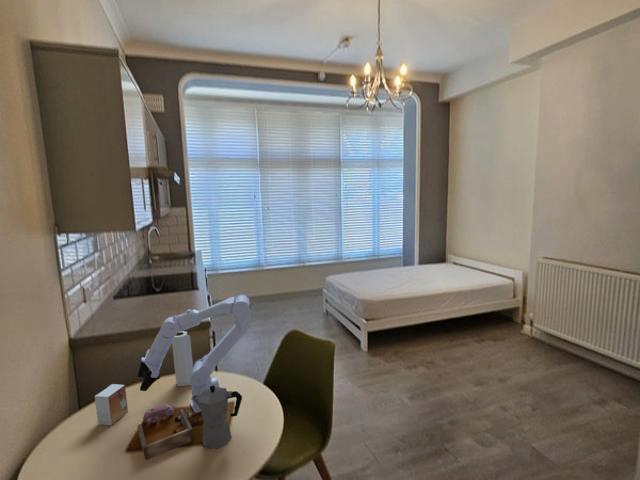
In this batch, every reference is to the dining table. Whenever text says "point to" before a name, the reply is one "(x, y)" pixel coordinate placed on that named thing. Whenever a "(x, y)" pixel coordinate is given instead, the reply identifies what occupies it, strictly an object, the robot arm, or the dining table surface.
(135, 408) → the dining table surface
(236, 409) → the coffeepot
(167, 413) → the video game controller
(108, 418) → the small box
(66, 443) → the dining table surface
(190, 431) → the box
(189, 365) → the paper towel roll
